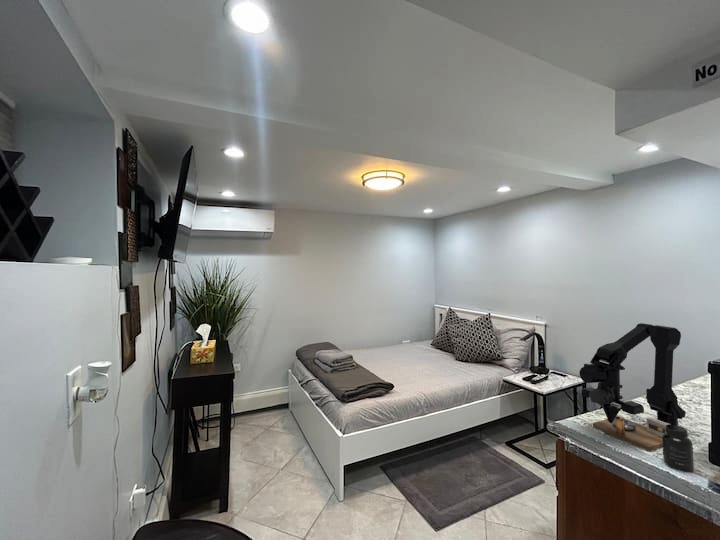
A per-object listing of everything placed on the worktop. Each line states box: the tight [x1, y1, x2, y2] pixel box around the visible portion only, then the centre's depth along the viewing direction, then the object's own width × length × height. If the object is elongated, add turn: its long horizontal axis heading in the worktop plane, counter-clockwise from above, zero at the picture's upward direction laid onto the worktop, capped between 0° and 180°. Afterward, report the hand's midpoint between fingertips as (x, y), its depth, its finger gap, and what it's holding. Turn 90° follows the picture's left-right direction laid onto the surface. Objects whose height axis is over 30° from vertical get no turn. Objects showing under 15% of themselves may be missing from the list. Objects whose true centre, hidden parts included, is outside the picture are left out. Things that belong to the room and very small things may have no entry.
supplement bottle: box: [662, 424, 695, 473], centre depth 99 cm, size 7×7×12 cm
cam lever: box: [612, 415, 636, 436], centre depth 119 cm, size 13×7×6 cm, turn 133°
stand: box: [592, 417, 669, 453], centre depth 119 cm, size 15×19×6 cm
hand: (610, 422), depth 118 cm, fingers closed
